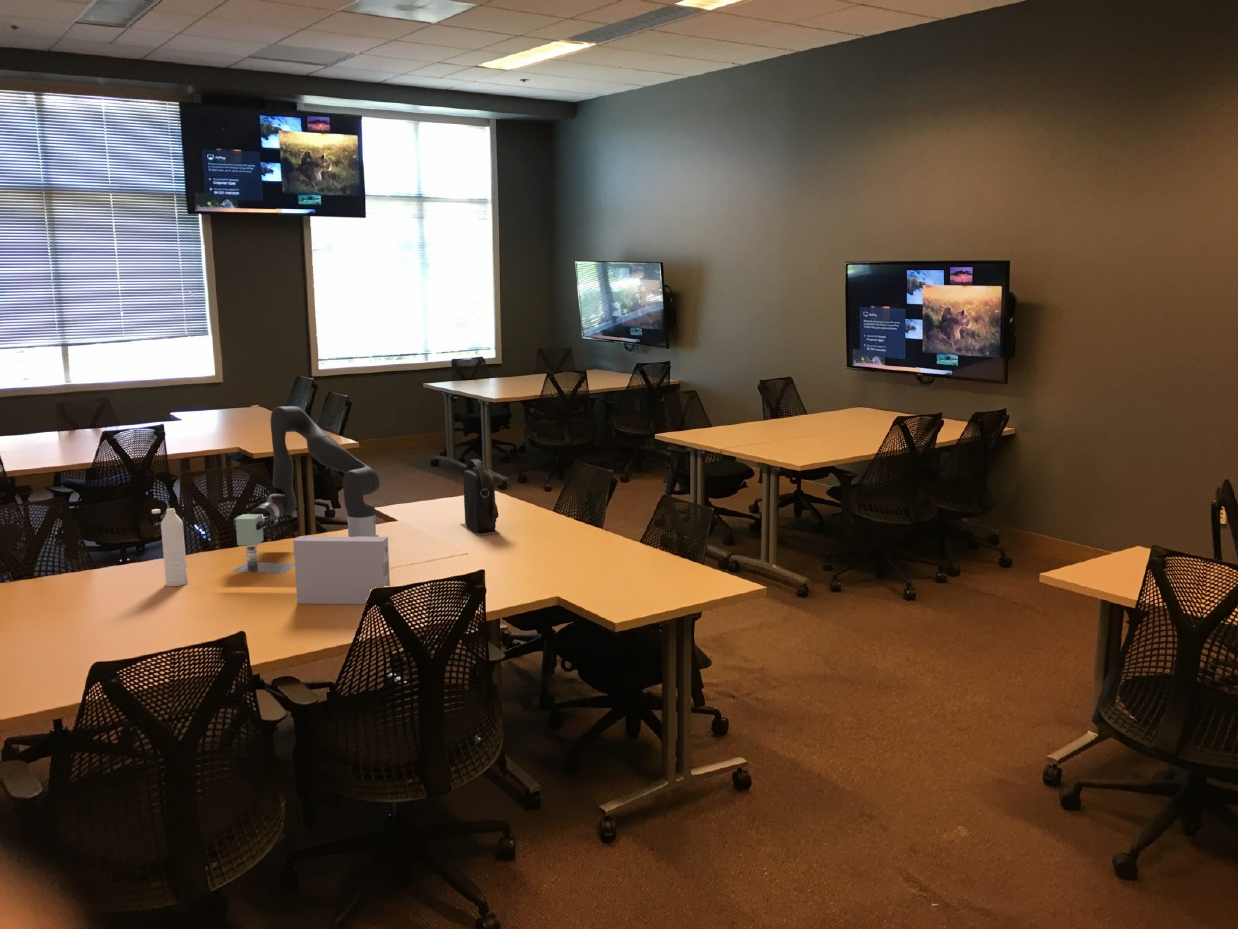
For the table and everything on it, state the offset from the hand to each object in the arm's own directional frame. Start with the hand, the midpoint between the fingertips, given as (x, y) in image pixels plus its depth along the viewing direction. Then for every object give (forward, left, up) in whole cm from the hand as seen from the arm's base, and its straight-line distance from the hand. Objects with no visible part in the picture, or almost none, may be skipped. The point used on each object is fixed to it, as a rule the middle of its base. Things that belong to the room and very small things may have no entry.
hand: (246, 527), depth 328 cm
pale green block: (+1, -2, -6) cm, 6 cm away
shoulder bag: (-56, -72, -16) cm, 93 cm away
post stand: (-4, -2, -16) cm, 17 cm away
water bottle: (+18, +16, -16) cm, 29 cm away
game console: (-44, +22, -16) cm, 52 cm away
